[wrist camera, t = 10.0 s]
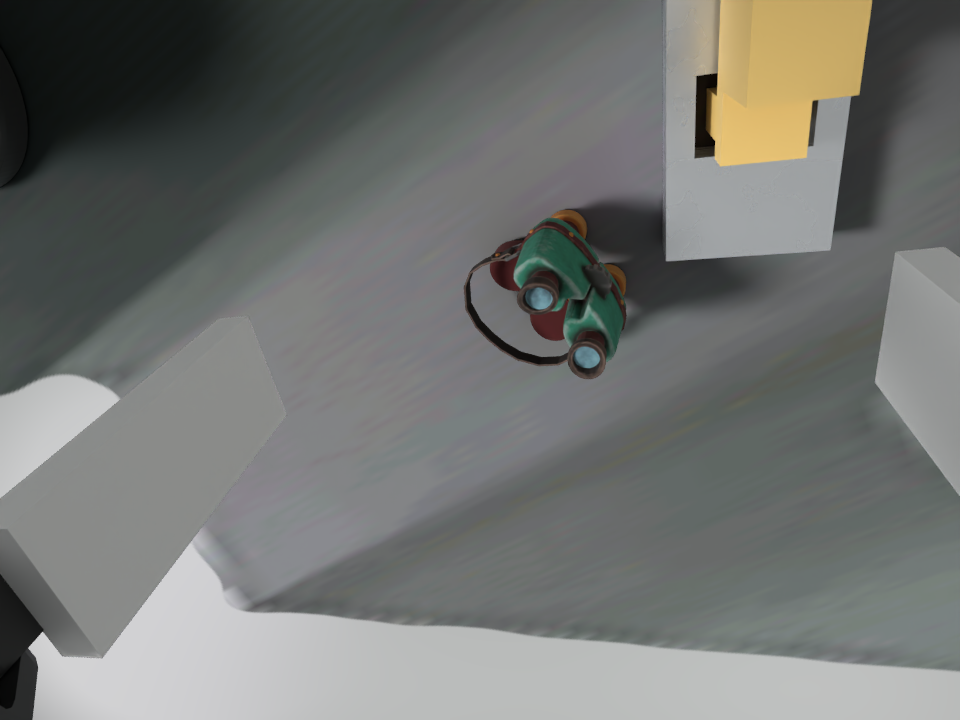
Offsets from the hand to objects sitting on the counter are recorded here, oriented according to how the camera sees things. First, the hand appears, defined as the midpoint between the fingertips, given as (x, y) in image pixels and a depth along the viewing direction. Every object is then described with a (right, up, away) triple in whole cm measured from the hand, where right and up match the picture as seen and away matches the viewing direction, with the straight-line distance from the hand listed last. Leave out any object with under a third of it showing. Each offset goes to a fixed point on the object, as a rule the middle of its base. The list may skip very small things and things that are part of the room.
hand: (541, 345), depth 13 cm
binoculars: (+4, +5, +29) cm, 30 cm away
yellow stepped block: (+13, +18, +20) cm, 30 cm away
